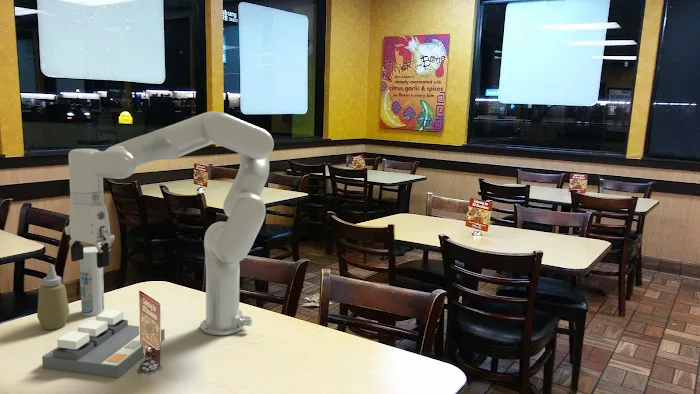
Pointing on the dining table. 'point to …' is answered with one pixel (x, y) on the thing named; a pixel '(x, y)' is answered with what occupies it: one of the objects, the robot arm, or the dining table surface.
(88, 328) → the switch
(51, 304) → the squeeze bottle
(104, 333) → the switch box
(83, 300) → the spray can
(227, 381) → the dining table surface
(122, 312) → the switch
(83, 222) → the robot arm
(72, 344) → the switch
